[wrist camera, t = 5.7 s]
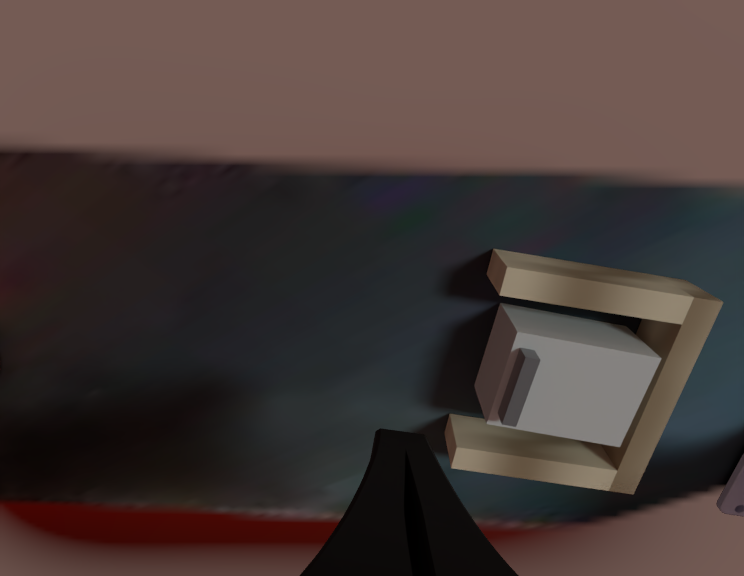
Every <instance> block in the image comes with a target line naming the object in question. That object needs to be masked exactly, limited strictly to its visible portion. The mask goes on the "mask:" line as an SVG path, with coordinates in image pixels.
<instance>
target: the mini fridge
mask: <svg viewBox="0 0 744 576" xmlns="http://www.w3.org/2000/svg"><path fill="white" fill-rule="evenodd" d="M661 359H662V358H661V357H660V356H658V355H657V354H656V353H655V352H654V351H653V350H652V349H651V348H650V347H649V346H647V345H646V344H645V343H644V342H643V341H642V340H641V339H640V338H639V337H638V336H636V335H635V334H634V333H633V332H632V331H631V330H630V329H629V328H628V327H627V326H622V325H617V324H612V323H606V322H601V321H596V320H590V319H585V318H580V317H574V316H569V315H564V314H558V313H553V312H548V311H542V310H537V309H532V308H526V307H521V306H516V305H510V304H505V303H500V305H499V308H498V311H497V315H496V318H495V321H494V324H493V327H492V330H491V334H490V337H489V340H488V343H487V346H486V349H485V353H484V356H483V359H482V362H481V365H480V368H479V372H478V375H477V378H476V381H475V384H474V387H475V390H476V393H477V396H478V399H479V402H480V406H481V409H482V412H483V415H484V418H485V421H486V424H489V425H495V426H501V427H506V428H512V429H518V430H524V431H529V432H535V433H541V434H547V435H552V436H558V437H564V438H570V439H575V440H581V441H587V442H592V443H598V444H604V445H610V446H615V447H620V446H621V444H622V442H623V439H624V437H625V435H626V433H627V431H628V429H629V427H630V425H631V422H632V420H633V418H634V416H635V414H636V412H637V410H638V408H639V406H640V403H641V401H642V399H643V397H644V395H645V393H646V391H647V389H648V386H649V384H650V382H651V380H652V378H653V376H654V374H655V372H656V369H657V367H658V365H659V363H660V361H661Z"/></svg>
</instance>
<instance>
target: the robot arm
mask: <svg viewBox="0 0 744 576" xmlns="http://www.w3.org/2000/svg"><path fill="white" fill-rule="evenodd" d="M717 507H718V508H719V509H720V511H722V512H723V513H725V514H730V515H737V516H744V454H743V455H742V457H741V459H740V461H739V463H738V464H737V466H736V468H735V470H734V472H733V473H732V475H731V477H730V479H729V481H728V482H727V484H726V486H725V488H724V490H723V491H722V493H721V495H720V497H719V499H718V501H717ZM300 576H518V575H517V574H516V573H515V571H514V570H513V569H512V568H511V567H510V566H509V565H508V564H507V563H506V562H505V560H503V558H502V557H501V556H500V555H499V553H498V552H497V551H496V550H495V549H494V547H493V546H492V545H491V544H490V542H489V541H488V540H487V538H486V537H485V536H484V534H483V533H482V532H481V530H480V529H479V527H478V526H477V525H476V523H475V522H474V520H473V519H472V517H471V516H470V514H469V513H468V511H467V510H466V508H465V507H464V505H463V504H462V502H461V501H460V499H459V497H458V496H457V494H456V492H455V491H454V489H453V487H452V486H451V484H450V482H449V481H448V479H447V477H446V475H445V473H444V472H443V470H442V468H441V466H440V464H439V462H438V460H437V458H436V456H435V454H434V452H433V450H432V448H431V446H430V444H429V442H428V440H427V438H426V437H425V435H423V434H416V433H409V432H402V431H395V430H387V429H379V430H377V431H376V432H375V438H374V443H373V448H372V453H371V459H370V462H369V465H368V467H367V470H366V472H365V474H364V477H363V479H362V482H361V484H360V486H359V488H358V490H357V492H356V494H355V496H354V498H353V500H352V502H351V503H350V505H349V507H348V509H347V510H346V512H345V514H344V516H343V517H342V519H341V521H340V522H339V524H338V525H337V527H336V528H335V530H334V531H333V533H332V535H331V536H330V537H329V539H328V540H327V542H326V543H325V544H324V546H323V547H322V549H321V550H320V551H319V553H318V554H317V555H316V557H315V558H314V559H313V560H312V562H311V563H310V564H309V565H308V566H307V568H306V569H305V570H304V571H303V572H302V574H301V575H300Z"/></svg>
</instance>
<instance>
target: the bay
mask: <svg viewBox="0 0 744 576" xmlns="http://www.w3.org/2000/svg"><path fill="white" fill-rule="evenodd" d="M487 276H488V278H489V279H490V281H491V283H492V284H493V286H494V287H495V289H496V291H497V292H498V294H499V295H500V296H506V297H512V298H518V299H525V300H531V301H537V302H543V303H550V304H556V305H562V306H568V307H575V308H581V309H587V310H593V311H600V312H606V313H612V314H618V315H625V316H631V317H637V318H642V320H641V323H640V325H639V328H638V330H637V333H636V336H638V337H639V338H640V339H641V340H642V341H643V342H644V343H645V344H646V345H647V346H649V347H650V348H651V349H652V350H653V351H654V352H655V353H656V354H657V355H658V356H660V357H661V358H662V359H661V361H660V363H659V365H658V367H657V369H656V372H655V374H654V376H653V378H652V380H651V382H650V384H649V386H648V389H647V391H646V393H645V395H644V397H643V399H642V401H641V403H640V406H639V408H638V410H637V412H636V414H635V416H634V418H633V420H632V422H631V425H630V427H629V429H628V431H627V433H626V435H625V437H624V439H623V442H622V444H621V446H620V447H615V446H610V445H604V444H598V443H592V442H587V441H581V440H575V439H570V438H564V437H558V436H552V435H547V434H541V433H535V432H529V431H524V430H518V429H512V428H506V427H501V426H495V425H489V424H486V421H485V419H482V418H476V417H469V416H462V415H456V414H449V418H448V422H447V426H446V429H445V438H446V443H447V449H448V454H449V459H450V465H451V468H454V469H461V470H468V471H475V472H482V473H489V474H496V475H503V476H510V477H516V478H523V479H530V480H537V481H544V482H551V483H558V484H565V485H572V486H578V487H585V488H592V489H599V490H606V491H613V492H620V493H627V494H634V492H635V490H636V488H637V486H638V484H639V482H640V480H641V477H642V475H643V473H644V471H645V469H646V467H647V465H648V462H649V460H650V458H651V456H652V454H653V452H654V450H655V447H656V445H657V443H658V441H659V439H660V437H661V435H662V432H663V430H664V428H665V426H666V424H667V422H668V420H669V418H670V415H671V413H672V411H673V409H674V407H675V405H676V403H677V400H678V398H679V396H680V394H681V392H682V390H683V388H684V385H685V383H686V381H687V379H688V377H689V375H690V373H691V371H692V368H693V366H694V364H695V362H696V360H697V358H698V356H699V353H700V351H701V349H702V347H703V345H704V343H705V341H706V338H707V336H708V334H709V332H710V330H711V328H712V326H713V323H714V321H715V319H716V317H717V315H718V313H719V311H720V309H721V306H722V304H723V302H722V301H721V300H719V299H717V298H716V297H714V296H712V295H710V294H709V293H707V292H705V291H703V290H702V289H700V288H698V287H697V286H695V285H693V284H691V283H690V282H688V281H686V280H682V279H675V278H669V277H663V276H657V275H651V274H645V273H639V272H633V271H626V270H620V269H614V268H608V267H602V266H596V265H590V264H584V263H578V262H571V261H565V260H559V259H553V258H547V257H541V256H535V255H529V254H522V253H516V252H510V251H504V250H498V249H493V252H492V256H491V259H490V263H489V267H488V271H487Z"/></svg>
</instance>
